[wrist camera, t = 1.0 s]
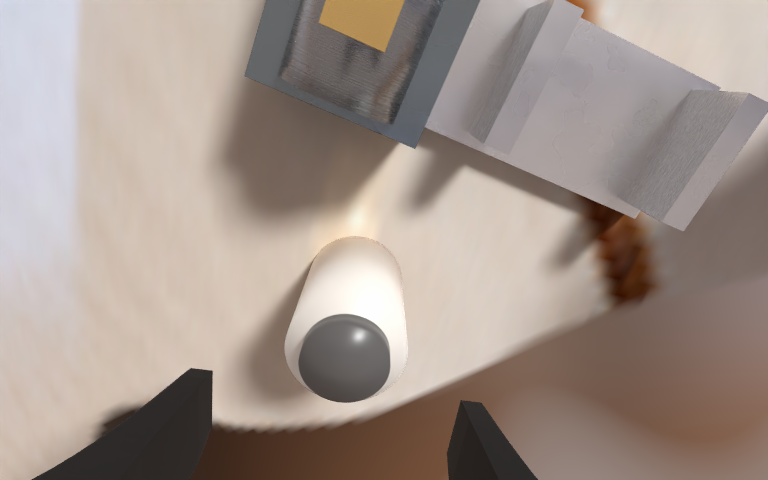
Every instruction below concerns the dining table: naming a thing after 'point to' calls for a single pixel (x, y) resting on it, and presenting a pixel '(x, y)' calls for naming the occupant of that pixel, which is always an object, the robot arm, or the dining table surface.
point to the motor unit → (514, 93)
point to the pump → (349, 322)
